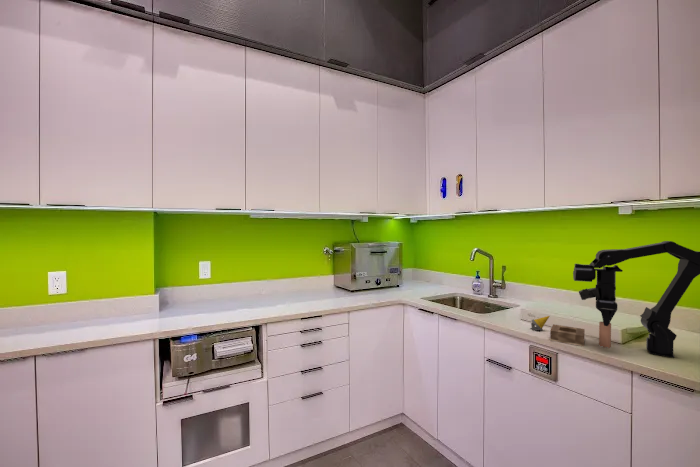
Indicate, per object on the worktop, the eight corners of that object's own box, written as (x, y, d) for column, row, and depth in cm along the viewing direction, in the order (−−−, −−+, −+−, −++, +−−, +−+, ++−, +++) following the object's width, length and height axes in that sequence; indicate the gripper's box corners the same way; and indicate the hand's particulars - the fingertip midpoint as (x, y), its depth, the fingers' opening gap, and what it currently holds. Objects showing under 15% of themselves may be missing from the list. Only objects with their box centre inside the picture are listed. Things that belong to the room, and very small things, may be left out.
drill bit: (531, 328, 150) (549, 315, 147) (537, 336, 145) (556, 323, 142) (524, 322, 148) (542, 308, 145) (530, 330, 144) (549, 316, 141)
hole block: (584, 338, 134) (584, 329, 134) (583, 346, 125) (583, 336, 125) (553, 333, 141) (553, 324, 141) (550, 340, 132) (550, 330, 132)
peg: (610, 345, 126) (611, 322, 126) (611, 348, 123) (611, 324, 123) (598, 343, 128) (599, 320, 128) (599, 346, 125) (599, 323, 125)
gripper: (581, 278, 138) (580, 314, 138) (579, 283, 123) (579, 325, 123) (615, 280, 131) (614, 319, 131) (617, 286, 116) (617, 330, 116)
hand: (605, 323), depth 126 cm, fingers open, 9 cm apart
